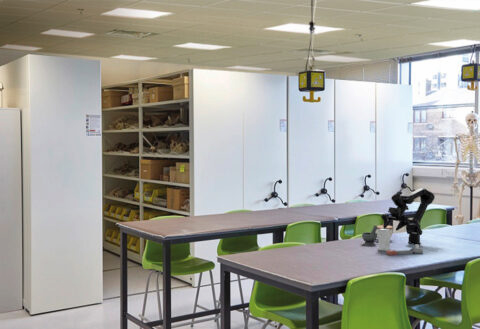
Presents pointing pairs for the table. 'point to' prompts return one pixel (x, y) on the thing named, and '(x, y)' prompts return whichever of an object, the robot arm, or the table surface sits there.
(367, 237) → the mortar and pestle
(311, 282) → the table surface
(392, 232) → the lidded bowl
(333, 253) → the table surface
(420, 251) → the ratchet
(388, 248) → the socket
